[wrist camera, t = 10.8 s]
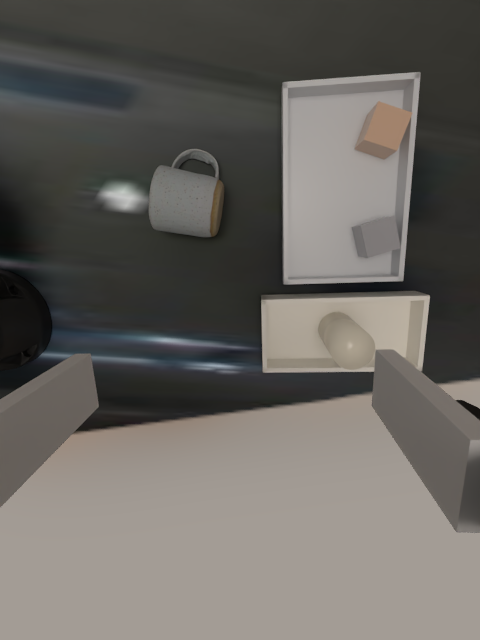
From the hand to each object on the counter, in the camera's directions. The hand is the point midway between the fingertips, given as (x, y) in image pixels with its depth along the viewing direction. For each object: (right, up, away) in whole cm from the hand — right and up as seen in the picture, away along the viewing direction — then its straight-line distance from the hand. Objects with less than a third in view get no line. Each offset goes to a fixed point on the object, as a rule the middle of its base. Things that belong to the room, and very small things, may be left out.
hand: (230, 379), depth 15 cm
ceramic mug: (-6, +19, +29) cm, 35 cm away
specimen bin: (+14, +2, +31) cm, 35 cm away
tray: (+14, +20, +27) cm, 36 cm away
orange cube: (+17, +25, +25) cm, 40 cm away
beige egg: (+14, +1, +31) cm, 34 cm away
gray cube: (+18, +14, +28) cm, 36 cm away
